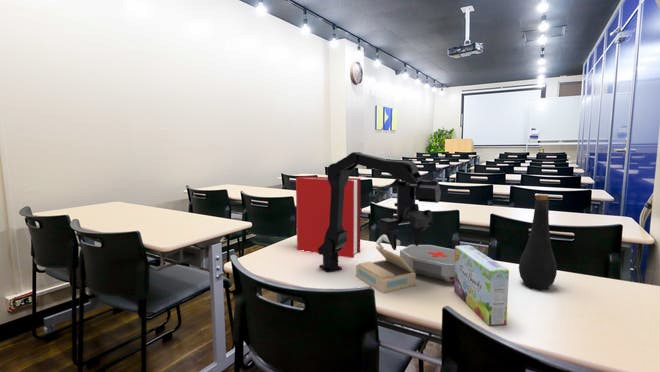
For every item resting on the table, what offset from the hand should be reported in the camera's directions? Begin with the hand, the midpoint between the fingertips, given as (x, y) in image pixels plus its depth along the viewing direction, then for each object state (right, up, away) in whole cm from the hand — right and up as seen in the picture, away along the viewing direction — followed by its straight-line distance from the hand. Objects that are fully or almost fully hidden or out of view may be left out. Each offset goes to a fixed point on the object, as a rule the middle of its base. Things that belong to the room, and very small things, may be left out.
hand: (405, 247), depth 113 cm
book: (-26, -9, +38) cm, 47 cm away
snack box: (+18, -15, -14) cm, 27 cm away
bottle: (+43, -13, +1) cm, 45 cm away
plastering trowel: (-4, -4, +6) cm, 8 cm away
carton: (-6, -12, +6) cm, 15 cm away
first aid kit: (+14, -12, +11) cm, 21 cm away
